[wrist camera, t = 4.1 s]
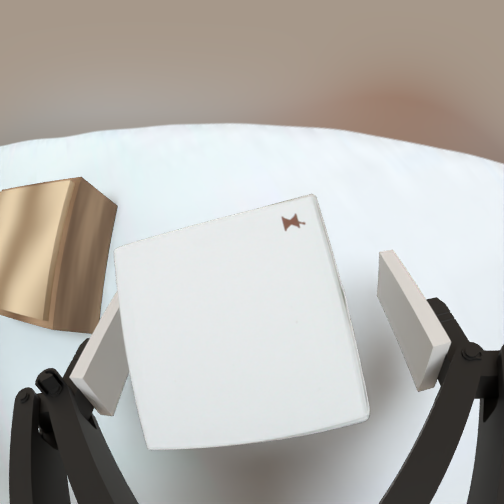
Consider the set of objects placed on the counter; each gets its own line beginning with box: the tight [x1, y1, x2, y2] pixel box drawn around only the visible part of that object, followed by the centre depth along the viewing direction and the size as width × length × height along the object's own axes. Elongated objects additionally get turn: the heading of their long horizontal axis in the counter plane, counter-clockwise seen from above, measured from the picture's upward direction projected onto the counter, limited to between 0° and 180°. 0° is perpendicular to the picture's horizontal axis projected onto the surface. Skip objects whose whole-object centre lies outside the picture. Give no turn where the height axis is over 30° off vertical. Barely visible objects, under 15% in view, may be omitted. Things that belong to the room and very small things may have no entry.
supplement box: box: [114, 194, 370, 450], centre depth 15 cm, size 7×7×13 cm
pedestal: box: [0, 177, 117, 334], centre depth 22 cm, size 11×11×6 cm
